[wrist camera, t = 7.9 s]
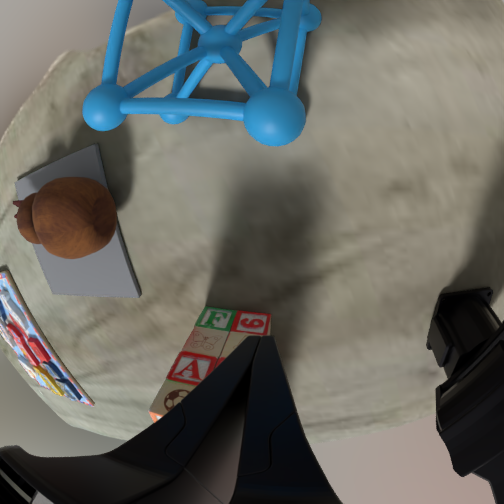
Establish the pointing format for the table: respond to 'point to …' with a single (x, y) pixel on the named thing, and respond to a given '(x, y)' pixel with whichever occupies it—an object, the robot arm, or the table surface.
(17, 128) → the table surface
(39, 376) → the puzzle board
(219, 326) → the stack of blocks
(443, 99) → the table surface
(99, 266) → the felt mat
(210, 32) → the molecular structure
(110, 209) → the wooden figurine
